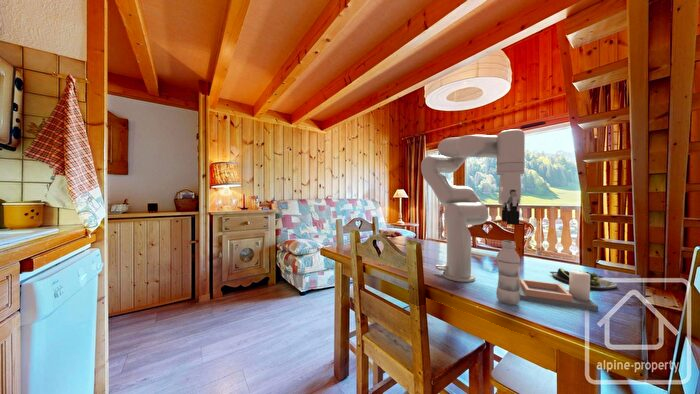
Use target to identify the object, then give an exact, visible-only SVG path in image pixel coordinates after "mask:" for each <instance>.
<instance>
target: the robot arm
mask: <svg viewBox="0 0 700 394" xmlns="http://www.w3.org/2000/svg"><path fill="white" fill-rule="evenodd" d="M525 139H526V138H525V131H523V130H522V129H515V128H514V129H507V130H502V131H501V132H499V133H498V134H497V135H489V134H488V135H487V134H469V135H462V136H458V137H457V136H455V137H447V138H444V139H442V140H441V141H439V143H438V145H437V151H438V153H439V154H440V155H439V154H436V155H433V154H431V155H428V156H426V157H424V158H423V159H422V161H421V163H420V170H421V175H422V176H423V179H424V180H425V182H426V183H427V185H429V186H430V188H431V190H432V191H433V193H434V194H435V196H436V198H437V199H438V201H439V203H440V204H441V205H442V206H444V207H445V209H444V219H445V227H446V263H445V264H443V265H441V264H435V269H436V270H437V271H440V272H441V271H443V272H442V276H443V278H444V279H447V280H451V281H454V282H458V283H459V282H460V283H470V282H474V281H475V280H476V276H475V274H473V273H472V235H471V232H470V230H469V228H468V226H473V225H477V226H478V225H482V224H484V223H486V222H487V221H488V219H489V210H488V209H487V206H486V204H485V203H484V202H483V201H482V199H481V197H479V195H478V194H477V193H476V191H475V190H474V189H473V188H471V187H469V186H466V185H454V184H452V182H451V181H450V179H449V178H448V177H446V175H444V174H452V173H454V172H457V170H459V168H460V167H461V166H462V165H463V164H464V162H465V161H466V160H467V159H468V158H470V157H472V158H494V159H496V175H498V176H499V181H498V201H497V202H498V204H499V205H501V206H502V207H501V208H502V209H501V221H502V222H506V225H512V226H515V225H516V226H518V225H520V206H519V205H520V204H521V198H522V197H521V196H522V193H521V192H522V189H521V188H522V186H521V185H522V183H521V182H522V181H521V180H522V178H521V175H525V154H526V153H525V144H526V143H525Z"/></svg>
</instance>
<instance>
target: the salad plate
mask: <svg viewBox="0 0 700 394" xmlns="http://www.w3.org/2000/svg"><path fill="white" fill-rule="evenodd" d="M579 271H580V272H582V271H581V270H579ZM584 272H585V273H588V274H590V291H592V290H593V291H603V289H605V290H610V289H613V288H616V287H617V286H618V284H617V283H616V282H613V281H610V280H606V279H603V278H604V276H603V275H598V274H596V273H595V272H589V271H584ZM549 273H550V274H551V275H552V277H553V278H554V279H555V280H557V281H558V282H561V283H564V284H567V285H569V271H567V270H565V269H563V268H558V269H557V271H549ZM600 283H601V284H600ZM603 284H604V285H603ZM602 285H603V286H602ZM605 285H606V287H605Z"/></svg>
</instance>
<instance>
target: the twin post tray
mask: <svg viewBox="0 0 700 394" xmlns="http://www.w3.org/2000/svg"><path fill="white" fill-rule="evenodd" d="M520 267H521V266H519V272H518V286H519V292H520V301H529V302H536V303H541V304H548V305H555V306H561V307H562V306H563V307H568V308H573V309H580V310H587V311H593V312H599V305H597V304H596V303H595V302H593V300H591V298H590V297H591V290H590V274H588V273H585V272H586V271H581V270H579V271H578V270H569V271H568V272H569V284H568V289H566V288H565V287H564V286H563V285H562V284H560V283H555V282H546V281H539V280H538V281H537V280H530V279H522V278H521V277H520V273H521V272H520V269H521V268H520ZM580 271H581V272H580Z"/></svg>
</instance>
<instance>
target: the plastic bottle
mask: <svg viewBox="0 0 700 394" xmlns="http://www.w3.org/2000/svg"><path fill="white" fill-rule="evenodd" d="M501 248H502V249H500V250H499V252H498V253H497V254H496V264H497V270H498V271H497V272H498V279H497V280H498V281H497V287H496V291H495V294H496V298H497V299H498V301H499V302H501V303H502V304H505V305H510V306H518V304H519V303H520V302H521V299H520V292H519V286H518V272H519V267H521V266H520V264H521V258H520V257H521V256H520V255H519V253H517V250H515V249H516V242H515V241H512V240H502V241H501Z"/></svg>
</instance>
